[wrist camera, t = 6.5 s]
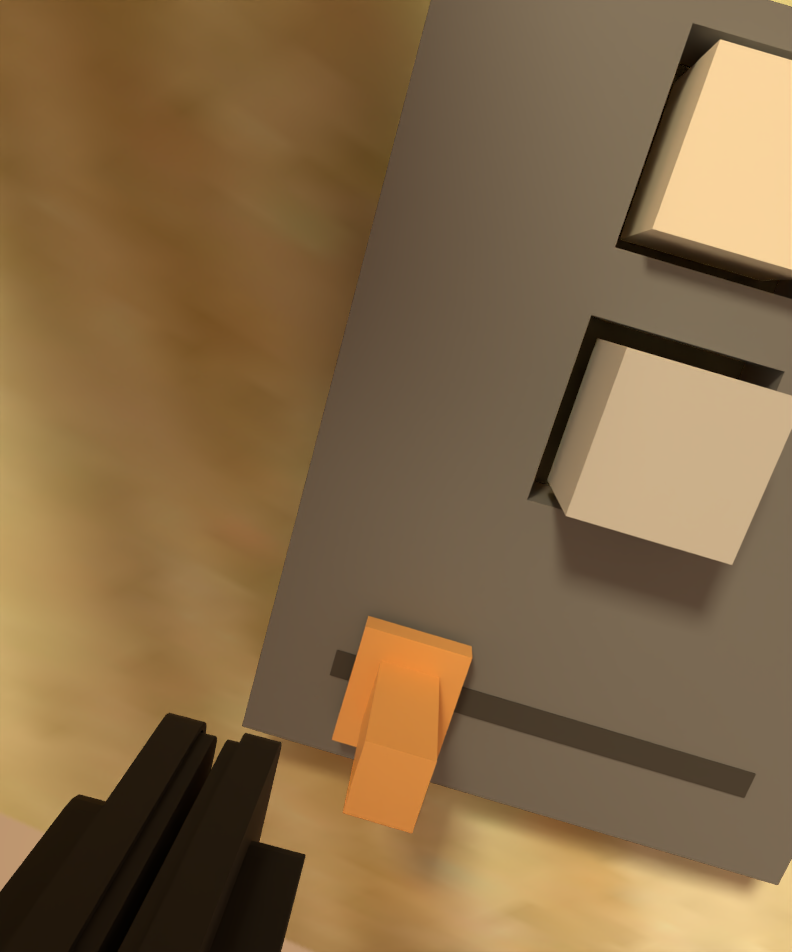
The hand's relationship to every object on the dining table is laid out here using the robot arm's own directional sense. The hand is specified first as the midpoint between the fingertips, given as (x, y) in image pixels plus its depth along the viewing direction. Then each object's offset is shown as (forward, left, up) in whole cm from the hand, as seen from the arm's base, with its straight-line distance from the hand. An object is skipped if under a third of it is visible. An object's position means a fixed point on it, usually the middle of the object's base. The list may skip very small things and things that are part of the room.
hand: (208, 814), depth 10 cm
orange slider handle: (+5, +3, -14) cm, 15 cm away
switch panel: (-4, +8, -17) cm, 19 cm away
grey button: (-5, +8, -15) cm, 18 cm away
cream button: (-13, +8, -17) cm, 23 cm away
